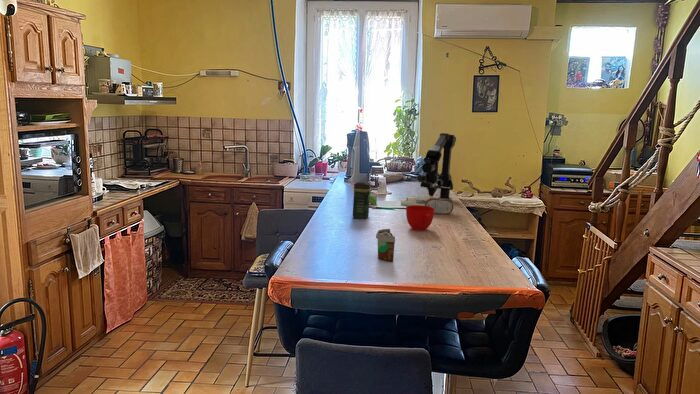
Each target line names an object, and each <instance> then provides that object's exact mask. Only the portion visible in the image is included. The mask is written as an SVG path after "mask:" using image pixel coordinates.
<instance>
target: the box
mask: <svg viewBox="0 0 700 394" xmlns="http://www.w3.org/2000/svg"><path fill="white" fill-rule="evenodd" d="M417 202H418V203H417ZM420 203H421V204H420ZM420 203H419V201H416V203H412V202H408V199H407V198H406V199H404V200H401V201H400V205H401V204H402V205H401V206H405V205H407V206H412V205H421V206H425V203H426V202H423V203H422V202H420ZM407 206H406V207H407Z"/></svg>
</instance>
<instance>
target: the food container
mask: <svg viewBox="0 0 700 394" xmlns="http://www.w3.org/2000/svg"><path fill="white" fill-rule="evenodd" d="M375 238H376V240H377V259H378V260H380V261H382V262H387V263H393V262H394V258H395V257H394V254H395V243H396V236H394V235H393V233H392V232H391V228H383V229H379V230H377V232H376V236H375Z"/></svg>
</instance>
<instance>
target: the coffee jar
mask: <svg viewBox="0 0 700 394" xmlns="http://www.w3.org/2000/svg"><path fill="white" fill-rule="evenodd" d="M370 194H371V183H370V182H369V181H368V180H359V181H356V182H355V183H354V184H353V199H352V201H353V203H352V205H353V206H352V218H353V219H354V218H355V219H358V220H361V219H364V220H365V219H367V218H368V217H369V215H370V204H369V198H370Z"/></svg>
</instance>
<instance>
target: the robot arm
mask: <svg viewBox="0 0 700 394" xmlns="http://www.w3.org/2000/svg"><path fill="white" fill-rule="evenodd" d="M456 142H457V137H456V136H455V135H454V134H450V133H447V132H446V133H445V132H441V133H439V137H438V138H437V140H436V142H435V144H434V145H433V146H432V147H431V146H430V147H429V149H428V150H427V152H426V155H425V156H424V157H425V158H424V160H423V161H424V163H423V164H422V165H421V166H422V167H421V170H422V172H423V173H424V174H425V175H422V174H419V175H417V178H416V180H417V181H418V183H420V184H419V185H420V187H421V188H426V189H427V190H428V191H427V192H428V195H429V196H435V194H436V192H437V190H439V189H440V191H439V197H437V198H445V199H449V200H452V197H450V192H451V191H454V190H453V189H454V184H453V180H452V179H453V178H452V175H451V173H450V169H451V159H452V150H453V149H454V147H455V144H456ZM442 150H443V153H442ZM442 154H443V155H442ZM441 158H442V163H441V165H442V166H441V172H440V173H439V164H440V161H441Z"/></svg>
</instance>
